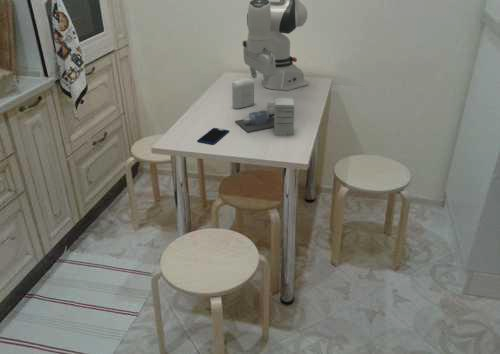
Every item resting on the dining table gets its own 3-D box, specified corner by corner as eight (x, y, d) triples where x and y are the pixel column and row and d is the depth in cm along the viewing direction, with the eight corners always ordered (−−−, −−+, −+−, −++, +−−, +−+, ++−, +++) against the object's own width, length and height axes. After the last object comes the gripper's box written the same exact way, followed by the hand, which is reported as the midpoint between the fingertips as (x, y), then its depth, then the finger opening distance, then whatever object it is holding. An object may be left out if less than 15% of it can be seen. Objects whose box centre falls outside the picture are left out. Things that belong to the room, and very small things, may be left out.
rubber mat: (269, 115, 200) (269, 114, 199) (283, 125, 190) (283, 124, 190) (234, 122, 194) (234, 120, 193) (247, 132, 184) (247, 131, 184)
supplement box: (273, 128, 188) (274, 97, 182) (292, 128, 188) (293, 97, 182) (274, 135, 182) (274, 104, 176) (293, 135, 182) (294, 104, 176)
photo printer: (250, 102, 214) (250, 75, 208) (255, 105, 211) (255, 78, 204) (231, 107, 209) (230, 79, 203) (236, 109, 206) (235, 82, 200)
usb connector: (272, 117, 196) (273, 108, 194) (277, 120, 193) (277, 111, 191) (242, 123, 191) (242, 114, 189) (246, 126, 188) (246, 117, 186)
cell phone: (230, 132, 186) (230, 130, 186) (213, 146, 175) (213, 144, 175) (213, 129, 189) (213, 127, 188) (196, 142, 178) (196, 141, 177)
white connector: (267, 108, 207) (267, 102, 205) (274, 108, 206) (274, 102, 205) (266, 117, 198) (266, 110, 197) (274, 117, 198) (274, 110, 197)
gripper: (280, 51, 171) (279, 88, 178) (254, 38, 187) (255, 72, 194) (264, 53, 169) (264, 90, 176) (240, 40, 185) (241, 75, 191)
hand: (259, 81), depth 185 cm, fingers open, 8 cm apart
